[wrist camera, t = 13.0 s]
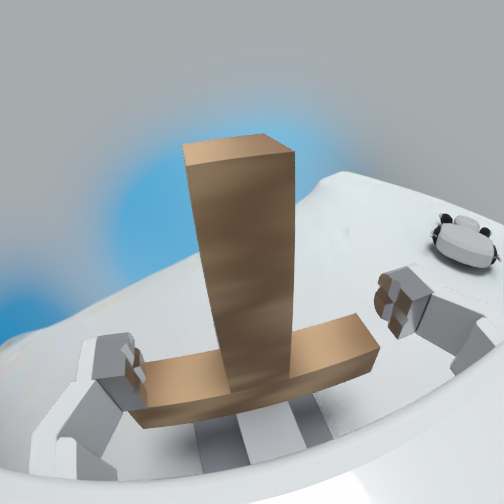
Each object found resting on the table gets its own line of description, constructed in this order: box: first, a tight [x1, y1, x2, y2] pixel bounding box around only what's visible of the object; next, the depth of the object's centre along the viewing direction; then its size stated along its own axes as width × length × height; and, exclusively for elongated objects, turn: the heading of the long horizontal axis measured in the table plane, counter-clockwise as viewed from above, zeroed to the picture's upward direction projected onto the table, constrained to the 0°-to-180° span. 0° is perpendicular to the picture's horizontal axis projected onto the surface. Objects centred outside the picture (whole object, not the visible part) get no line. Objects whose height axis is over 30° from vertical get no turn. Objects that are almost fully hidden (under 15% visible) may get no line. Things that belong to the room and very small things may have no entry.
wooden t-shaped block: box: [128, 134, 380, 429], centre depth 13 cm, size 14×3×14 cm, turn 105°
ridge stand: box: [194, 323, 333, 474], centre depth 19 cm, size 10×14×8 cm
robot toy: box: [430, 214, 502, 268], centre depth 39 cm, size 12×4×15 cm
